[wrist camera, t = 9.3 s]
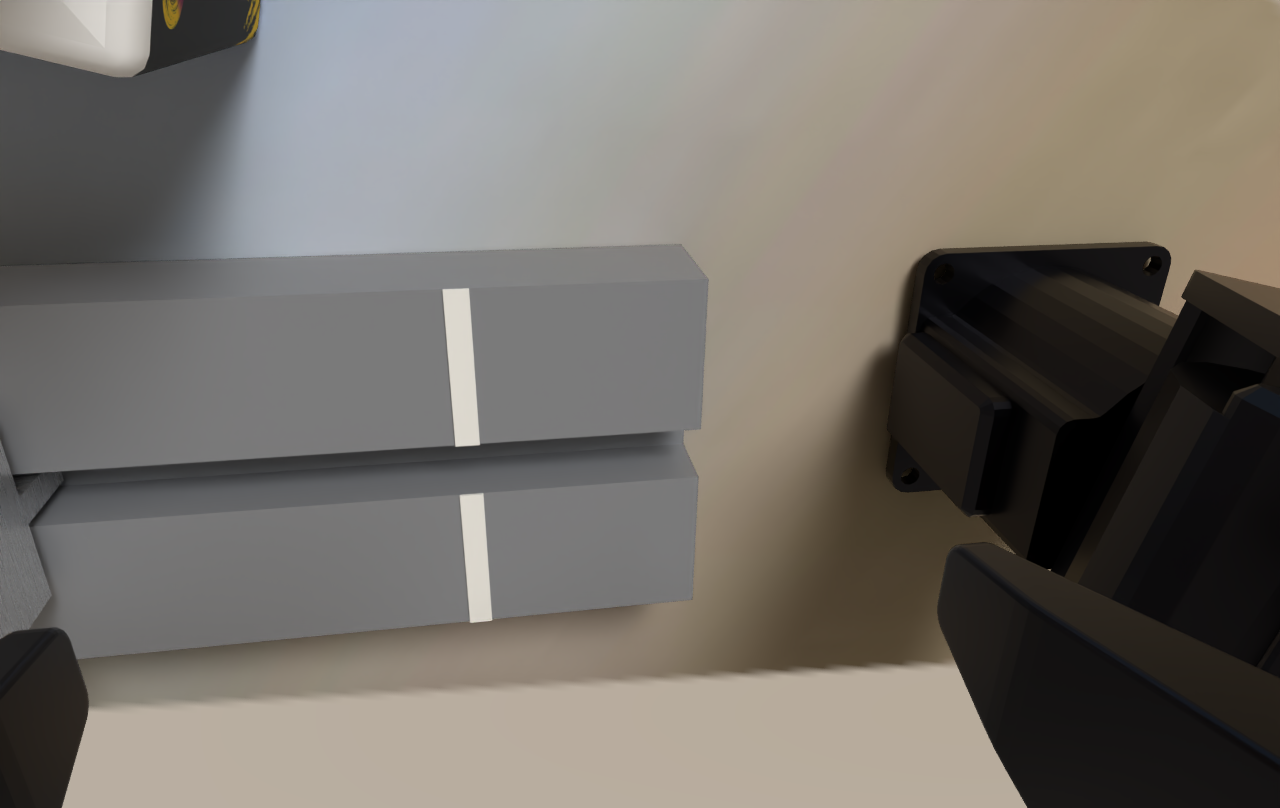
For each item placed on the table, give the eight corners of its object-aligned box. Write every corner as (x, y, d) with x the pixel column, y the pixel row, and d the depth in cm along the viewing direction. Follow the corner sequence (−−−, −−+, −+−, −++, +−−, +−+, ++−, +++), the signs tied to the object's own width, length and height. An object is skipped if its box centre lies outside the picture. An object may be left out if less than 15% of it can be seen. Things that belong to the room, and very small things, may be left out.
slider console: (680, 244, 20) (709, 280, 18) (670, 538, 24) (692, 601, 21) (-340, 276, 17) (-470, 325, 15) (-182, 611, 21) (-266, 694, 18)
